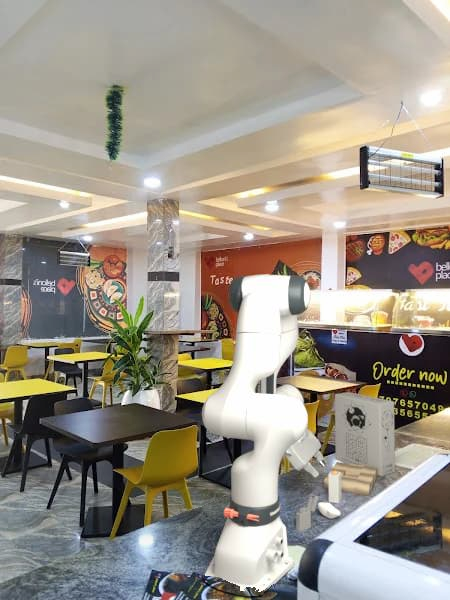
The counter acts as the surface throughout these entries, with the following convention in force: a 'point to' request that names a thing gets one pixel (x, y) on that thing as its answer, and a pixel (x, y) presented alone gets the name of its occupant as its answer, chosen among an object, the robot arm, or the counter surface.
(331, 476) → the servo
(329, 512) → the dumpling
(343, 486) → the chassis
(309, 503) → the lighter
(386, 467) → the cereal box
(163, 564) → the counter surface
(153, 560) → the counter surface
